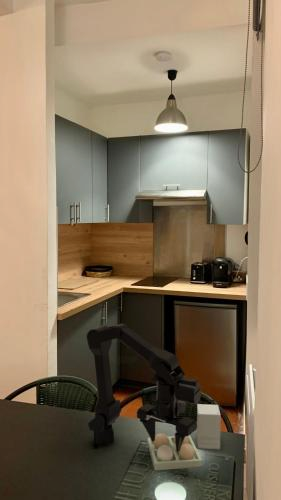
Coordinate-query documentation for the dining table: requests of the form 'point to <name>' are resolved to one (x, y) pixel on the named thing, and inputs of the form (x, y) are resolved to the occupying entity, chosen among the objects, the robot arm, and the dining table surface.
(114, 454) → the dining table surface
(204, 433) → the supplement box
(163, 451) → the white egg
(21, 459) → the dining table surface
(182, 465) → the egg tray
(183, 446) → the brown egg front right
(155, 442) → the brown egg back left
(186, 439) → the brown egg back right
